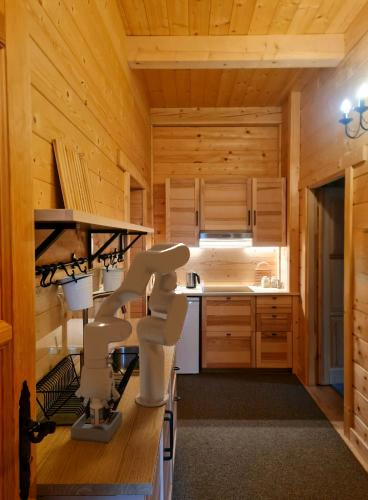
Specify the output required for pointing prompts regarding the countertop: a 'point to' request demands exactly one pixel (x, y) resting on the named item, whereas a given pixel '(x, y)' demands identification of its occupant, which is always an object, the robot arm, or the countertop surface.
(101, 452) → the countertop surface
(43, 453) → the countertop surface
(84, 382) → the robot arm
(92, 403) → the pill bottle
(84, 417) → the bin
